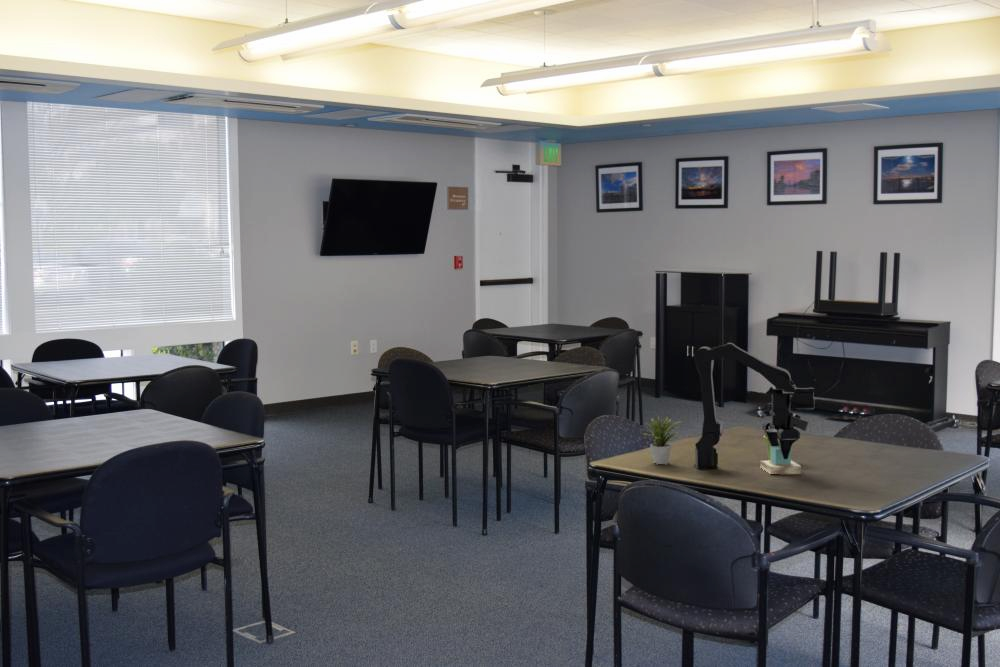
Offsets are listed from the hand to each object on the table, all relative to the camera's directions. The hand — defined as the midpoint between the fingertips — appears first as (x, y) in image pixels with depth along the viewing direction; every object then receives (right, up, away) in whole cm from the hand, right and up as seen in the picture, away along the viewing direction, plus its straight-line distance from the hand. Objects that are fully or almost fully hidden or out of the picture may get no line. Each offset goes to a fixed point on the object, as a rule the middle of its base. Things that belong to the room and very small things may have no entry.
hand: (780, 456), depth 324 cm
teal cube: (0, -2, 0) cm, 2 cm away
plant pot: (+3, -4, +15) cm, 15 cm away
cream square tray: (0, -5, 0) cm, 5 cm away
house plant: (-36, -5, +14) cm, 39 cm away
